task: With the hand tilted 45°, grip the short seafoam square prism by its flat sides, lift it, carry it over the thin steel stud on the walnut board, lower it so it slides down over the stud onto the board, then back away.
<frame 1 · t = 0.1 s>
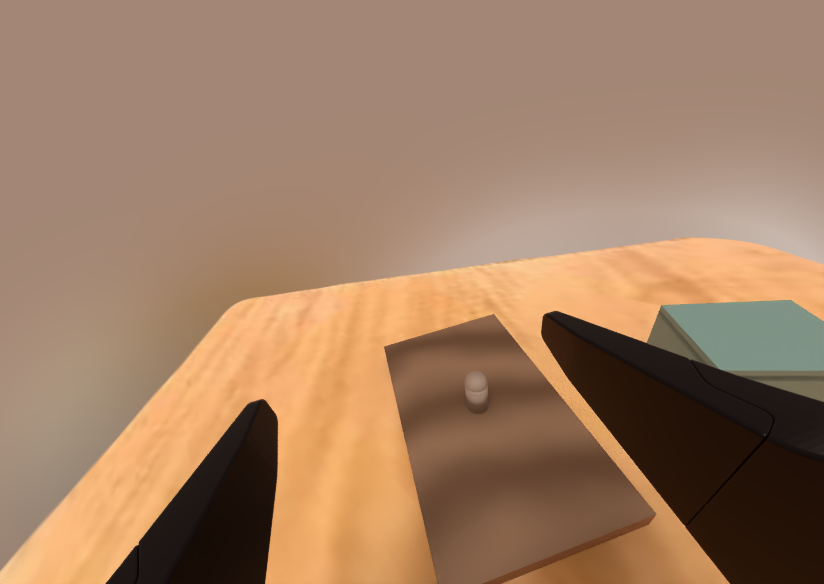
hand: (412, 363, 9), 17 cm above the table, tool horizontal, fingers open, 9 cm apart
seafoam square prism: (699, 421, 22), on the table
stud board: (478, 414, 25), on the table
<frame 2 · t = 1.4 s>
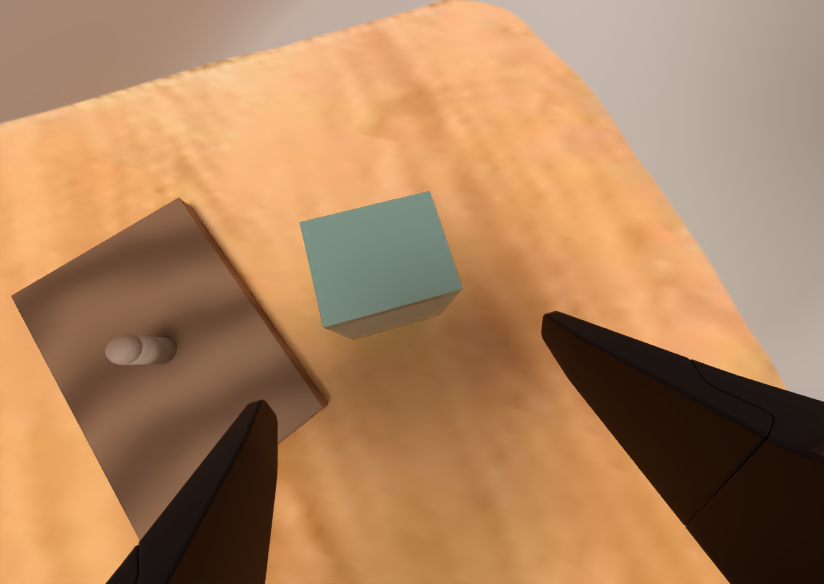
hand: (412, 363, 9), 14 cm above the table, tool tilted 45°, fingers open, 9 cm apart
seafoam square prism: (387, 293, 23), on the table
stud board: (179, 351, 22), on the table
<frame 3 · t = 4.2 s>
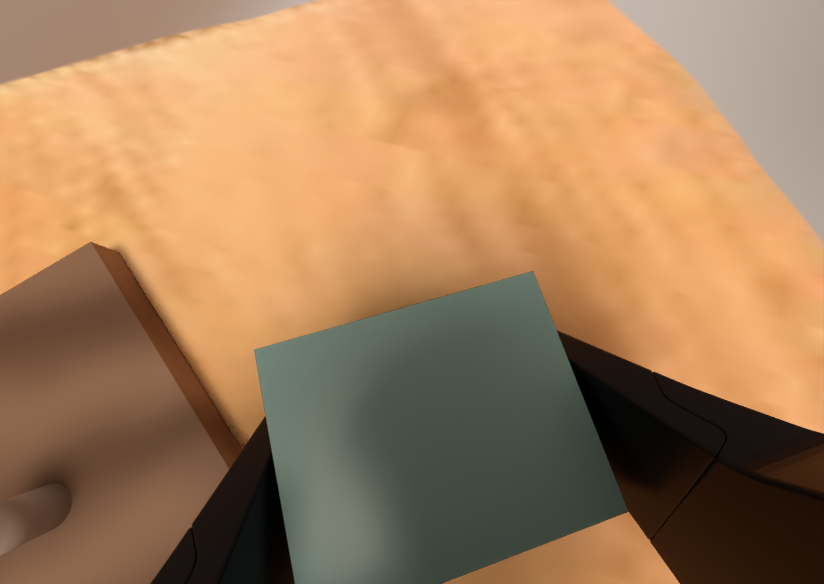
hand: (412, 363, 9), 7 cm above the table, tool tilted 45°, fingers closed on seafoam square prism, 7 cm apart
seafoam square prism: (415, 387, 15), on the table, touching gripper
stud board: (86, 491, 14), on the table
when the fingers open (9 cm above the table, at t = 9.4 s): seafoam square prism stays where it is, resting on stud board.
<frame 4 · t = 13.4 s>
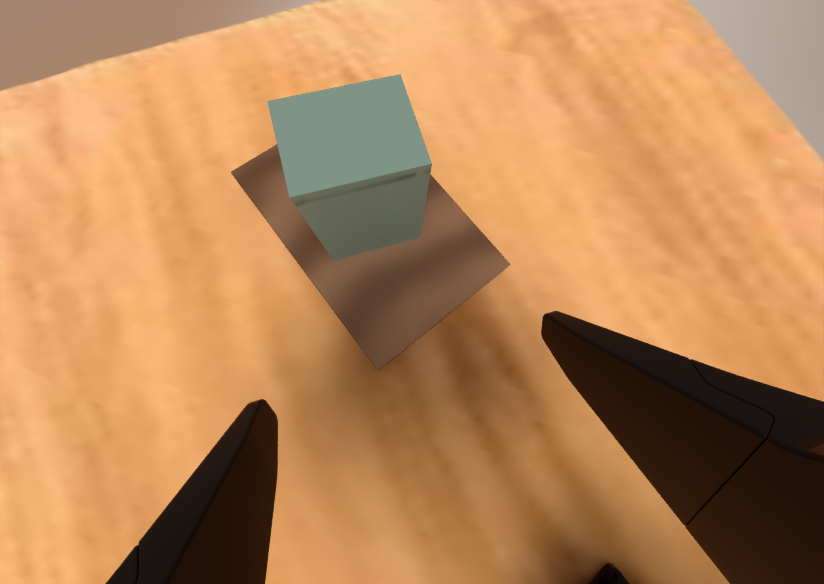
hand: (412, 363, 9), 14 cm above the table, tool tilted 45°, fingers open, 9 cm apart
seafoam square prism: (368, 217, 23), point 1 cm above the table, touching stud board
stud board: (369, 225, 25), on the table
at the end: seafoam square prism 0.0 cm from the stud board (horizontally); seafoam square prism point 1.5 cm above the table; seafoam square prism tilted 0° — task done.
